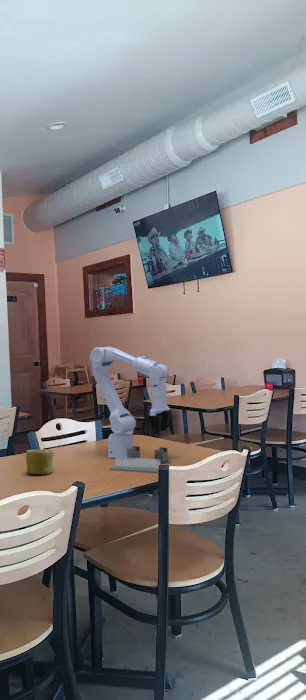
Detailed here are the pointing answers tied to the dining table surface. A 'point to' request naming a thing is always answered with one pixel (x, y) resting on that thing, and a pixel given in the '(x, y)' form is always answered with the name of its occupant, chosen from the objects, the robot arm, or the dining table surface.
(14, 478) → the dining table surface
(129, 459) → the rail
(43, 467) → the mug
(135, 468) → the mat
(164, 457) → the rack
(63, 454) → the dining table surface
